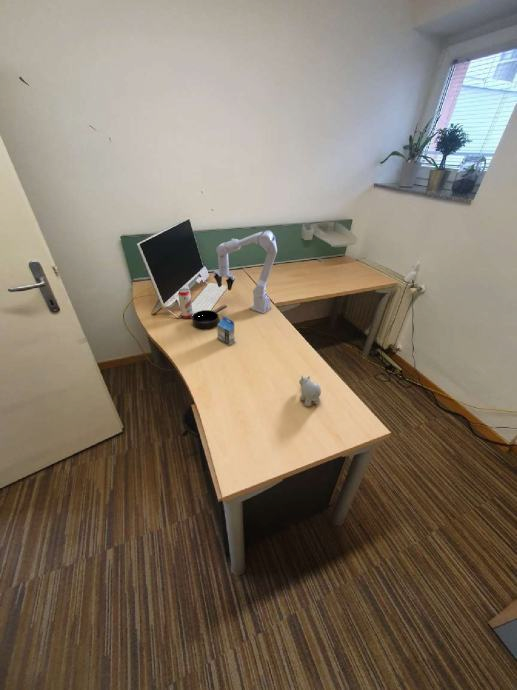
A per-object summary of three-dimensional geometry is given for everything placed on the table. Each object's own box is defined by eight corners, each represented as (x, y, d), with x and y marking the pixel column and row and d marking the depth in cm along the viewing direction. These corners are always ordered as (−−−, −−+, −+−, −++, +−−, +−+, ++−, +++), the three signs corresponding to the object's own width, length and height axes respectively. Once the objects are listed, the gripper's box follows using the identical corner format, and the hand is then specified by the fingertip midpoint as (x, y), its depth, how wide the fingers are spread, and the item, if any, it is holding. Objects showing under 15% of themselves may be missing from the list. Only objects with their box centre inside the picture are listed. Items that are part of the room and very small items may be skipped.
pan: (235, 314, 158) (234, 308, 156) (206, 332, 142) (205, 326, 140) (216, 307, 165) (216, 301, 162) (187, 324, 149) (186, 317, 146)
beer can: (195, 315, 156) (192, 289, 147) (188, 320, 152) (184, 293, 142) (186, 312, 158) (182, 287, 149) (179, 317, 154) (175, 291, 144)
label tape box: (217, 338, 138) (215, 317, 131) (223, 335, 140) (222, 314, 133) (229, 345, 133) (228, 324, 126) (235, 342, 136) (234, 321, 128)
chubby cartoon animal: (308, 384, 113) (311, 368, 108) (322, 405, 104) (325, 389, 99) (292, 387, 111) (294, 371, 106) (304, 409, 102) (307, 393, 97)
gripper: (209, 264, 155) (211, 287, 163) (229, 270, 149) (229, 293, 157) (217, 261, 160) (219, 283, 168) (237, 267, 153) (237, 289, 161)
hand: (224, 288), depth 163 cm, fingers open, 7 cm apart
